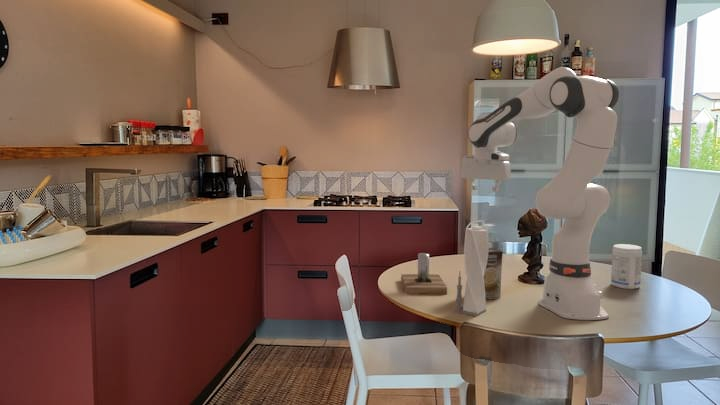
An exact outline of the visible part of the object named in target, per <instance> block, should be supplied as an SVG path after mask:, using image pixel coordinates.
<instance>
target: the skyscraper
mask: <svg viewBox="0 0 720 405" xmlns="http://www.w3.org/2000/svg"><path fill="white" fill-rule="evenodd" d="M478 222H479V223H482V225H481V226H480V225H473V224H475V223H478ZM485 222H486V221H485V220H483V219H477V220H472V221H471V222H469V223H468V224H467V226H466V228H465V234H464V236H465V237H464V246H463V248H464V249H463V255H464V256H463V258H464V259H463V260H464V261H463V262H464V269H465V275H466V281H465V289H464V296H463V297H462V295H463V294H462V289H463V285H462V281H461V280H462V276H461V272H462V271H460V270H459V272H458V273H459V274H458V283H457V284H456V290H457V292H456V299H455V301H456V305H455V306H456V307H455V309H454V313H459V314H463V315H467V316H472V317H477V316H479V315H481V314H483V313H486V311H487V299H485V287H484V278H483V277H484V273H485V270H486V265H487V260H488V250H489V247H490V246H489V240H490V239H489V228H487V227H484V226H485ZM471 225H472V226H471ZM470 226H471V227H470ZM462 298H463V299H462ZM462 303H463V304H462ZM462 305H463V306H462Z"/></svg>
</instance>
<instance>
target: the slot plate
mask: <svg viewBox="0 0 720 405" xmlns="http://www.w3.org/2000/svg"><path fill="white" fill-rule="evenodd" d="M400 279H401V283H402V286H403V289H404V292H405V294H406V295H448V287H447V284H446V283H445V282H444V280H443V279H442V277H441V276H440V274H439V273H429V283H418V273H413V274H412V273H409V274H408V273H401V278H400Z"/></svg>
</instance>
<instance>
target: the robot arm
mask: <svg viewBox="0 0 720 405" xmlns="http://www.w3.org/2000/svg"><path fill="white" fill-rule="evenodd" d="M619 96H620V92H619V88H618V86H617V84H616V83H615V82H614V81H613V80H610V79H607V78H604V77H595V76H590V75H577V74H576V72H575V71H574V70H572V69H571V68H569V67H566V66H560V67H557V68H555V69H553V70H552V71H549V72H548V73H547V74H545V75H543V77H541V78H539V79H538V81H536V82H535V83H534V84H532V86H530V87H528V88H527V89H526V90H525V91H523V92H522V93H519V95H516V96H514V97H513V98H511V99H510V100H507V101H506V102H504V103H503V104H501V105H500V106H499V107H497V108H496V109H495V110H493V111H492V112H491V111H490V112H482V113H480V114H478V115H477V117H476V119H475V120H474V121H473V122H472V123H471V125H470V126H469V128H468V131H467V136H468V140H469V141H470V143H471V144H472V145H473V148H474V149H473V150H474V151H473V154H466V155H464V156H463V157H462V159H461V161H462V162H461V170H460V177H461V178H462V179H468V182H469V185H470V186H471V187H470V188H471V191H477V190H478V189H477V187H478V185H476V184H475V180H476V179H477V180H490V181H491V180H493V181H495V182H494V183H495V186H492V192H495V193H498V192H499V187H500V186H501V184H502V181H508V180H510V179H511V176H512V175H511V174H512V170H511V169H512V168H511V163H510V161H509V160H510V155H509V154H508V153H505V152H502V151H500V150H498V148H500V147H501V148H504V147H505V148H507V147H510V146H512V145H513V144H514V143H515V141H516V140H517V136H518V132H517V127H516V125H515V124H514V123H513V122H514V121H519V120H526V119H540V118H544V117H546V116H548V115H550V114H552V113H553V112H555V111H559V112H561V113H562V114H564V115H565V117H567V118H569V119H570V118H573V117H575V120H576V127H575V130H574V133H573V137H572V140H571V144H570V145H569V146H570V147H569V149H568V152H567V155H566V157H565V160H564V162H563V164H562V166H561V168H559V171H558V172H557V173H556V175H554V177H553V178H552V179H551V180H550V181H549V182H548V183H547V184H546V185H544V186H543V187H542V188H540V189H538V191H537V193H536V196H535V208H536V210H537V212H538V213H539V214H540V216H542V217H544V218H549V219H553V220H554V219H555V220H564V221H563V223H562V225H561V227H560V228H559V229H558V230H556V231H555V233H554V234H553V236H552V240H551V258H550V259H549V263H548V264H549V266H548V268H549V274H547V276H546V277H545V278H544V283H543V290H542V291H543V292H542V298H541V299H539V300H538V302H537V304H538V305H540V306H542V307H544V308H545V309H547V310H549V311H551V312H552V313H553V314H556V315H557V316H559V317H561V318H563V319H570V320H580V321H584V320H585V321H593V320H595V321H596V320H598V321H599V320H605V319H608V318H609V314H608V312H607V311H606V310H605V309H604V308H603V306H601V300H602V299H603V291H599V290H598V289H597V285H596V284H595V283H594V281H593V279H592V277H591V276H592V271H591V270H592V267H591V263H590V261H589V260H590V247H591V238H592V235H593V232H594V229H595V227H596V225H597V223H598V221H599V220H600V218H601V216H603V214H605V212H607V210H608V209H609V208H610V204H611V196H610V193H609V191H608V189H607V188H606V187H605V186H603V185H599V184H596V183H592V181H593V180H594V179H595V178H596V177H598V176H599V175H601V173H602V172H604V170H605V166H606V164H607V160H608V158H609V155H610V152H611V149H612V147H613V143H614V139H615V136H616V131H617V125H618V114H617V113H616V110H613V108H614V107H616V105H617V103H618V100H619Z"/></svg>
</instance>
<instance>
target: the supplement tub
mask: <svg viewBox="0 0 720 405" xmlns="http://www.w3.org/2000/svg"><path fill="white" fill-rule="evenodd" d="M611 253H612V256H611V275H610V278H611V279H610V280H611V281H610V282H611V285H612V286H614V287H616V288H619V289H626V290H627V289H629V290H634V289H638V288H640V286H641V283H642V282H641V279H642V259H643V257H642V256H643V250H642V247H641V246H639V245H636V244H629V243H627V244H626V243H619V244H618V243H617V244H614V245H613V246H612V252H611Z"/></svg>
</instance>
